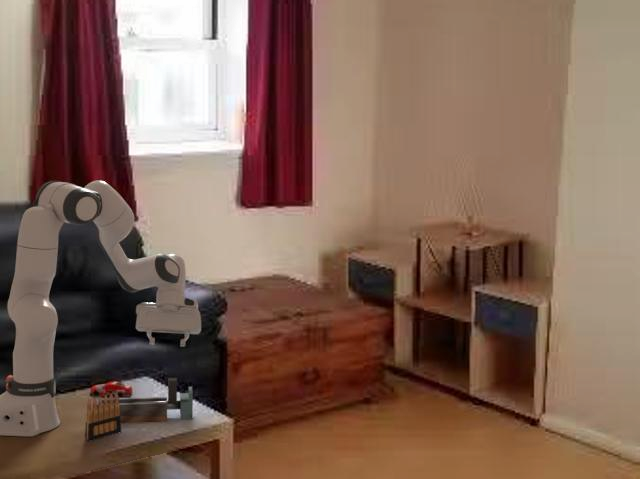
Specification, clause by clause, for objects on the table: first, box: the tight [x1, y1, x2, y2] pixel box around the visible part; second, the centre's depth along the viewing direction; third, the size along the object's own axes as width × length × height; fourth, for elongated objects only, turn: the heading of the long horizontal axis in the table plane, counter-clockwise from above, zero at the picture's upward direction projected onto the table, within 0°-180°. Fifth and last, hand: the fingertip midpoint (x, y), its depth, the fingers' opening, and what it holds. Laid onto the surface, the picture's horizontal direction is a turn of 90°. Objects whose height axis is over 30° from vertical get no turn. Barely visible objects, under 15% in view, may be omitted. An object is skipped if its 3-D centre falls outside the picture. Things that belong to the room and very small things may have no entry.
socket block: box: [179, 386, 194, 420], centre depth 295 cm, size 4×6×8 cm, turn 10°
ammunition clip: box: [84, 392, 122, 442], centre depth 277 cm, size 11×2×12 cm, turn 134°
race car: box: [90, 381, 133, 398], centre depth 312 cm, size 13×5×4 cm, turn 84°
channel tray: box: [92, 396, 168, 424], centre depth 292 cm, size 22×9×5 cm, turn 100°
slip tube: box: [133, 377, 181, 411], centre depth 293 cm, size 16×3×9 cm, turn 100°
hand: (167, 344), depth 303 cm, fingers open, 8 cm apart
